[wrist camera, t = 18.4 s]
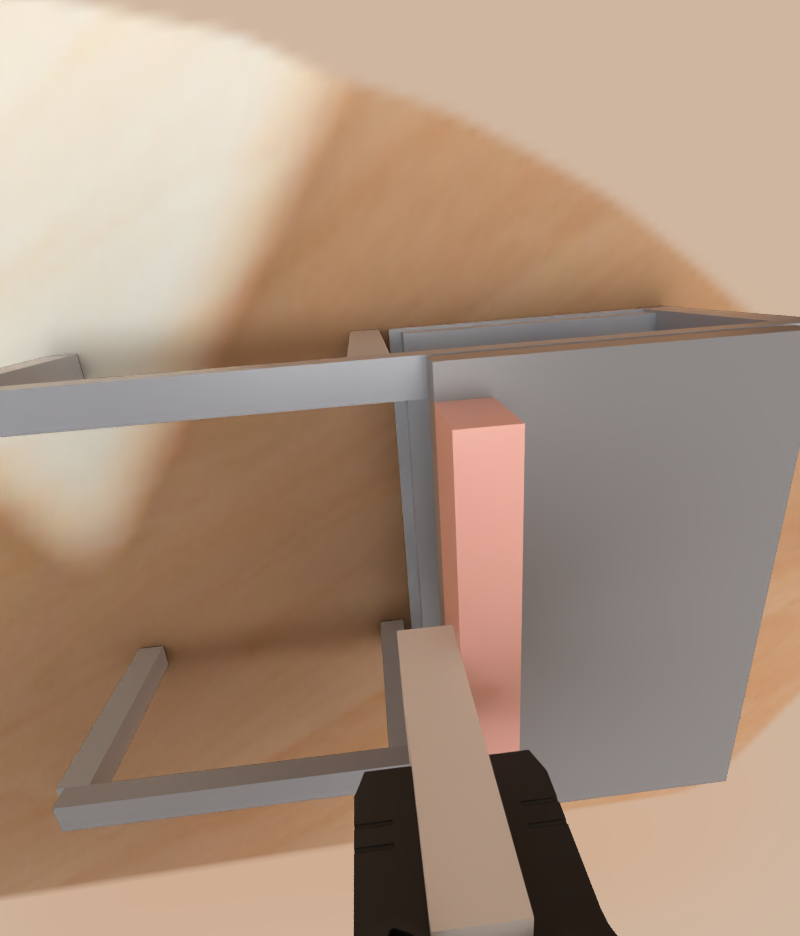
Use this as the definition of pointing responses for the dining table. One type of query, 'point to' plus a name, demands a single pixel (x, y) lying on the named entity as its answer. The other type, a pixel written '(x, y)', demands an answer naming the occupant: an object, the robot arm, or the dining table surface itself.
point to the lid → (613, 544)
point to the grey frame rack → (406, 384)
